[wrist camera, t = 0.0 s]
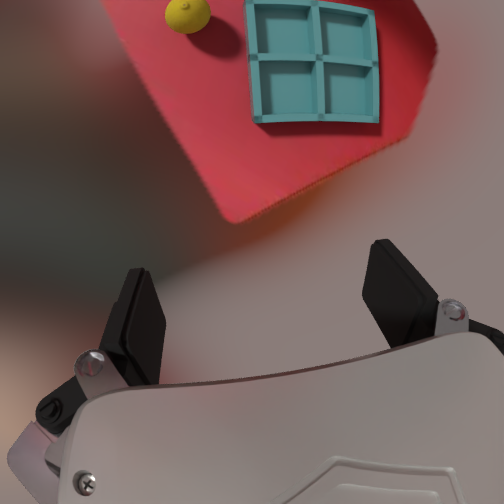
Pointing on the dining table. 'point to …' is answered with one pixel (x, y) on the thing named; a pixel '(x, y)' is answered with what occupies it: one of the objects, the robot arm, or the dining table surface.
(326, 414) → the robot arm
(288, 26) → the square compartment tray
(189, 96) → the dining table surface
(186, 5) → the lemon
